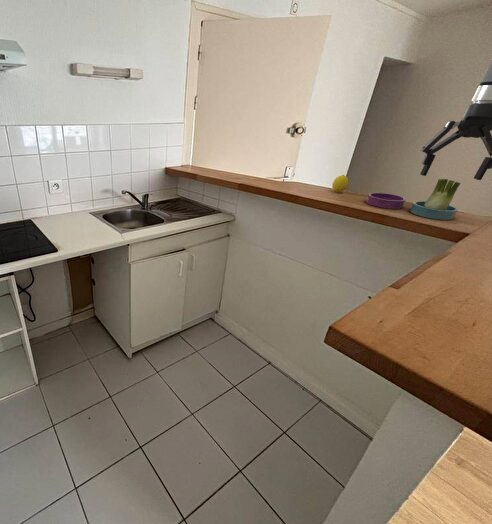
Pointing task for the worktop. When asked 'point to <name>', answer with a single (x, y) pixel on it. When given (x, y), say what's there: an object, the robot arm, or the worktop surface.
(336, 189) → the lemon
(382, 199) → the plum bowl
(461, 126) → the robot arm
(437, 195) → the fennel bulb
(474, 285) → the worktop surface
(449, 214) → the teal bowl
